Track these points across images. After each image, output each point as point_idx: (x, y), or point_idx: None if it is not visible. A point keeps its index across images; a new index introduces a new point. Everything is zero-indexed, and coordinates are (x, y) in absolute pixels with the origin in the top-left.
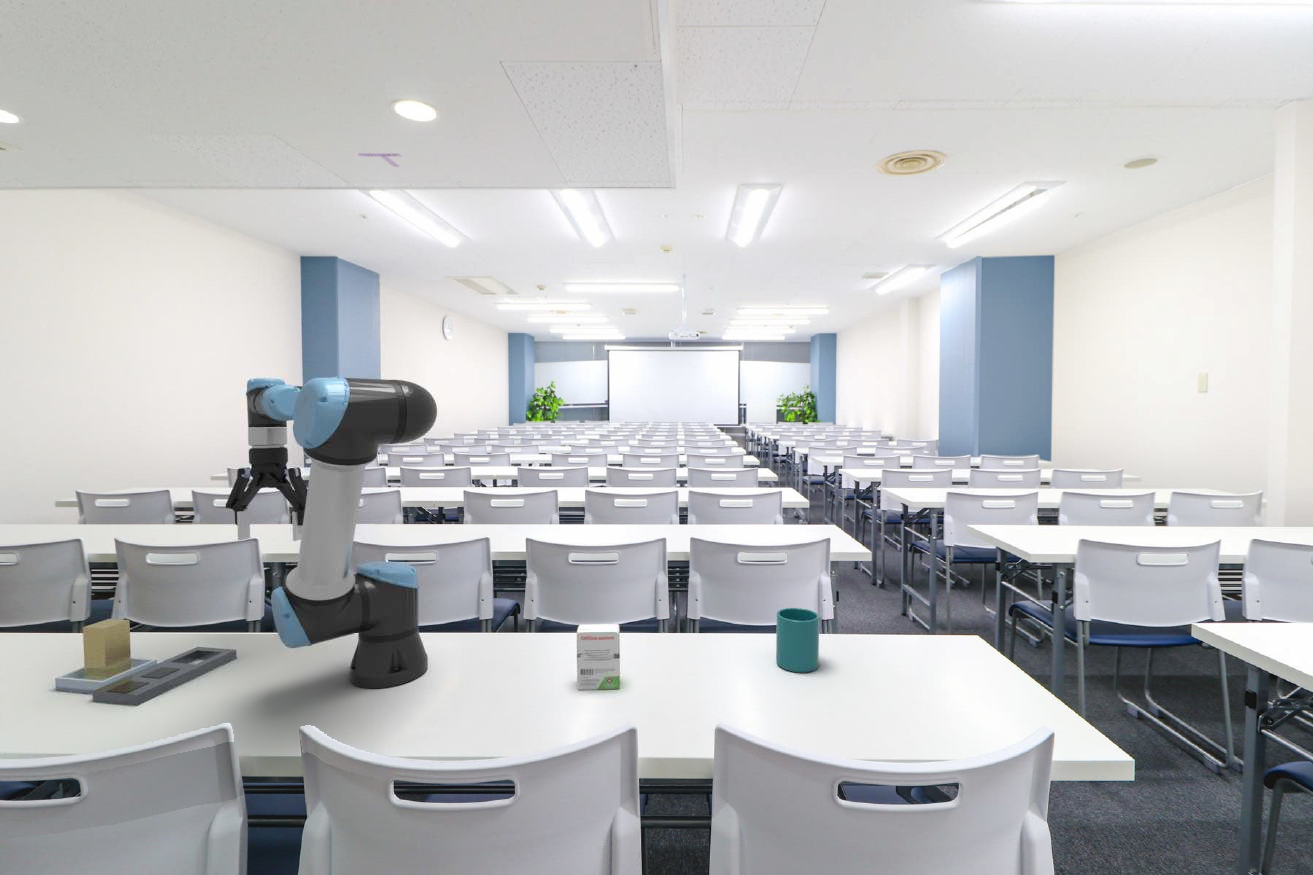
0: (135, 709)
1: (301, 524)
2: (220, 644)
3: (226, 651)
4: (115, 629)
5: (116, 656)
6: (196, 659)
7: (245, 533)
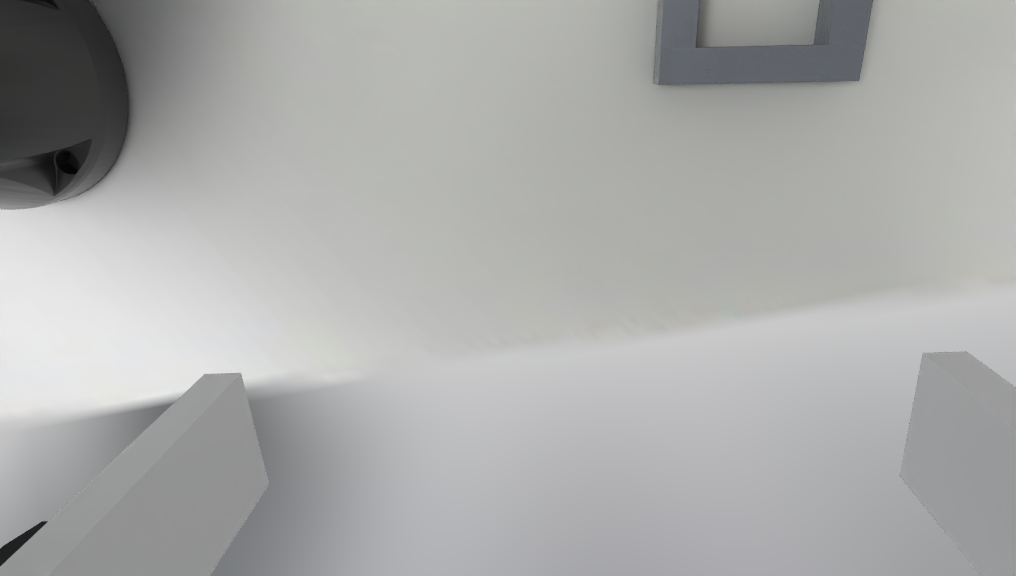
0: None
1: (32, 531)
2: (834, 198)
3: (685, 57)
4: None
5: None
6: (814, 39)
7: (952, 461)
